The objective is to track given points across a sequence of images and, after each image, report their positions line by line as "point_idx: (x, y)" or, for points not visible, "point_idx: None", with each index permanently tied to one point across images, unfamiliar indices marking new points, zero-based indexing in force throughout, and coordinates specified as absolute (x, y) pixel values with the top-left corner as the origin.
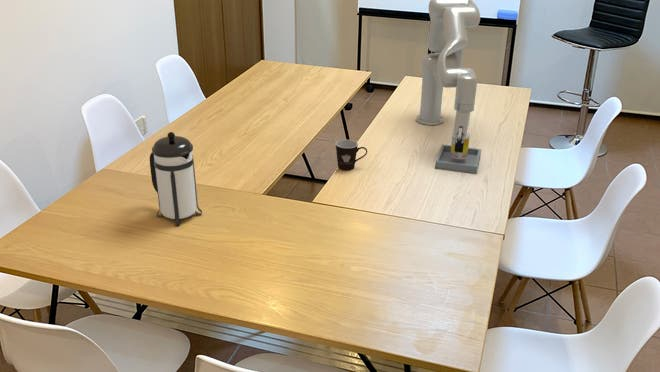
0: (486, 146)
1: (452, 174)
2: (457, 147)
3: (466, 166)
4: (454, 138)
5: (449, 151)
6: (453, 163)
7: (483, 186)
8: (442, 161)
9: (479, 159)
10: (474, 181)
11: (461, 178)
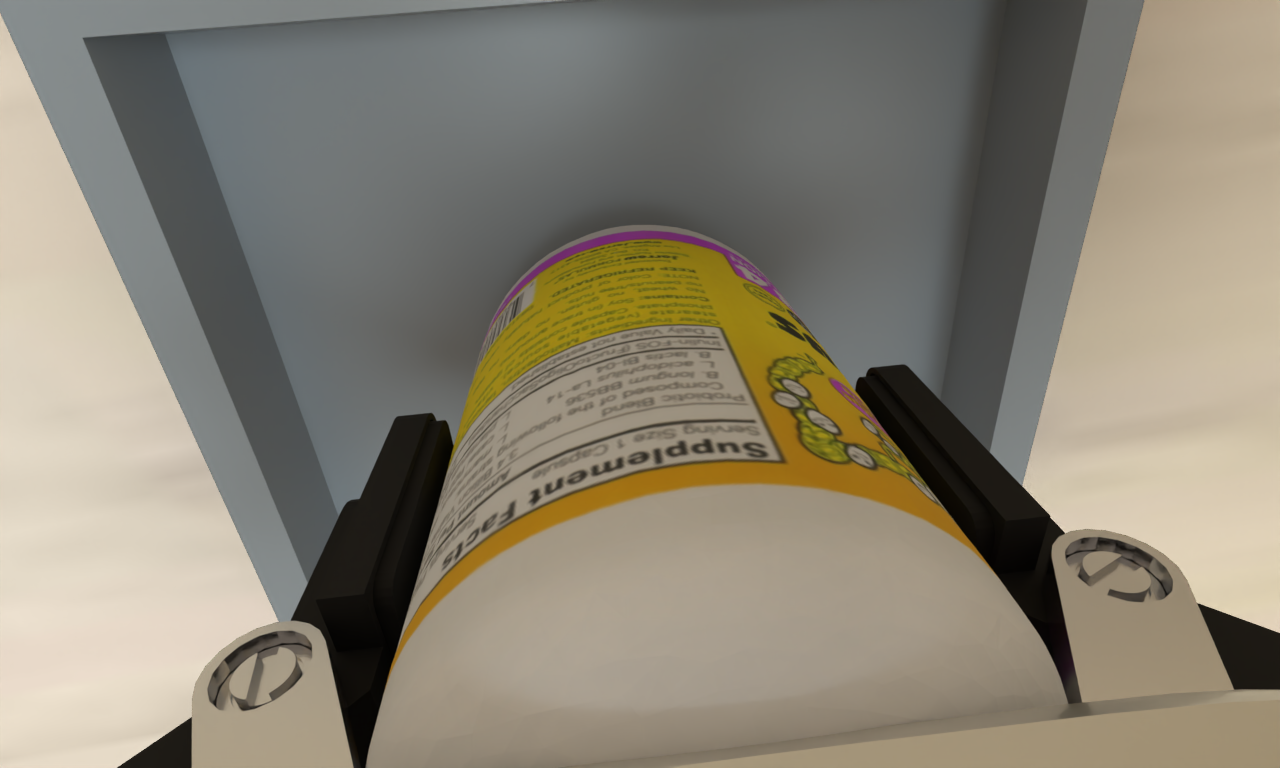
0: (1257, 536)
1: (95, 348)
2: (326, 566)
3: (267, 561)
4: (416, 618)
5: (991, 106)
6: (180, 382)
7: (45, 721)
8: (113, 144)
9: None
10: (101, 628)
11: (59, 487)
